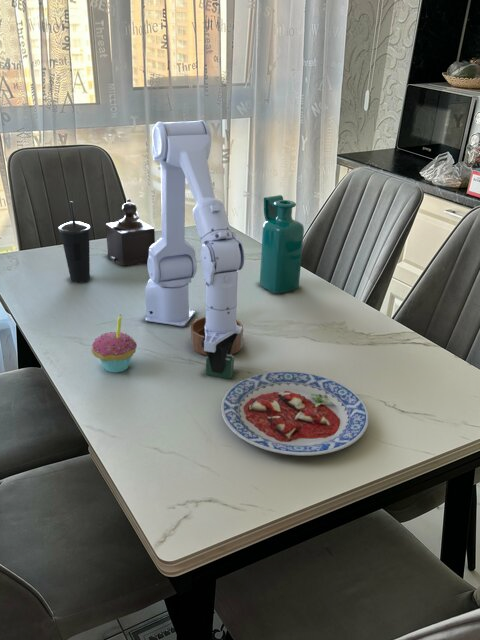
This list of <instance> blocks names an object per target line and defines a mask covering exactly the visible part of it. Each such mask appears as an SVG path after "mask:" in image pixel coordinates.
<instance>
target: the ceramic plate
mask: <svg viewBox="0 0 480 640" xmlns="http://www.w3.org/2000/svg"><path fill="white" fill-rule="evenodd" d="M220 410H221V416H222V418H223V422H224V423H225V424H226V426H227V427H228V428H229V429H230V431H232V433H234V435H236V436H237V437H239V439H241V440H243V441H245V442H247V443H249V444H250V445H252V446H255V447H257V448H260V449H262V450H265V451H268V452H271V453H276V454H282V455H288V456H299V457H300V456H304V457H305V456H321V455H327V454H330V453H334V452H338V451H341V450H343V449H345V448H348V447H349V446H352V445H353V444H354V443H356V442H357V441H359V440H360V438H361V437H362V436H364V434H365V432H366V430H367V428H368V425H369V422H370V421H369V419H370V418H369V412H368V409H367V407H366V405H365V403H364V401H363V400H362V399H361V398H360V397H359V396H358V395H357V394H356V393H355V392H354V391H353V390H351V389H350V388H348V387H347V386H345V385H343V384H341V383H339V382H337V381H335V380H333V379H330V378H327V377H324V376H320V375H317V374H313V373H307V372H299V371H272V372H271V371H270V372H266V373H260V374H255V375H253V376H249V377H248V378H245V379H242V380H240V381H239V382H237V383H236V384H234V385H232V386H231V387H230V388H229V389H228V390H227V392H225V394H224V396H223V398H222V401H221V405H220Z"/></svg>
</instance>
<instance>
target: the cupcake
mask: <svg viewBox="0 0 480 640" xmlns="http://www.w3.org/2000/svg"><path fill="white" fill-rule="evenodd" d="M121 316H122V314H121V313H120V314H119V316H118V317H117V325H116V331H114V332H112V331H110V332H105V333H102V334H100V335H99V336H97V337H96V338H94V341H93V342H92V347H91V354H92V355H93V356H94V357H95V358H97V359H99V360H100V362H101V364H102V366H103V368H104V370H105V371H107V372H109V373H121V372H124V371H126V370H127V369H129V365H130V362H131V358H132V357H133V356H134V354H135V353H136V351H137V350H136V348H137V342H135V339H134V338H133V337H132V336H130V335H129V334H127V333H124V332H122V331H121V328H122V317H121Z"/></svg>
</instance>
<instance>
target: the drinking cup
mask: <svg viewBox="0 0 480 640" xmlns="http://www.w3.org/2000/svg"><path fill="white" fill-rule="evenodd" d="M69 204H70V212H71V221H69V222H66V223H63V224H61V225H60V226H58V231H59V233H60V236H61V242H62V246H63V250H64V255H65V259H66V260H65V261H66V264H67V268H68V273H69V279H70V281H71V282H73V283H80V284H81V283H86V282H89V280H90V279H91V278H90V277H91V271H90V270H91V267H90V265H91V264H90V262H91V261H90V260H91V259H90V231H91V226H90V224H88V223H84V222H82V221H76V217H75V207H74V201H73V200H70V201H69Z"/></svg>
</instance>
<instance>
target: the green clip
mask: <svg viewBox="0 0 480 640" xmlns="http://www.w3.org/2000/svg"><path fill="white" fill-rule="evenodd" d="M234 373H235V355H233V354H231V355H229V354H227V356H226V361H225V367H224V370H223V373H222V374H221V373H215V372H212V370H211V366H210V362H209V359H208V356H207V355H206V357H205V375H206V376H209V377H210V376H211V377H216V378H222V379H229V380H231V378H232V377H233V375H234Z"/></svg>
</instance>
